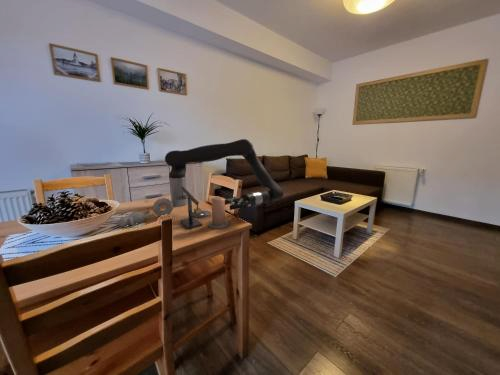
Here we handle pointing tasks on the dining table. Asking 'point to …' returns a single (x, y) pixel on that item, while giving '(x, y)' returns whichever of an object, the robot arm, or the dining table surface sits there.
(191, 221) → the balance
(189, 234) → the dining table surface
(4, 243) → the dining table surface
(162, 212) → the donut
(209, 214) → the dish high side
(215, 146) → the robot arm
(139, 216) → the bunny figurine
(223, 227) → the dish low side
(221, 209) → the tan round cylinder
